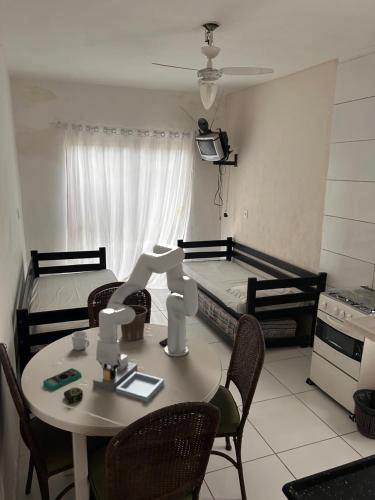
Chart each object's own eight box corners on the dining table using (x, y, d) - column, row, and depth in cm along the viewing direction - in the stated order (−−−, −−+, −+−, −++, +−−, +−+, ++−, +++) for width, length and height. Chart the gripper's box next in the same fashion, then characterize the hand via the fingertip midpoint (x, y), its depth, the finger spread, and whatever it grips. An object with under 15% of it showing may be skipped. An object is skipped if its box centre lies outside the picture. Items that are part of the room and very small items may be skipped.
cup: (94, 348, 195) (94, 334, 193) (82, 354, 188) (82, 340, 186) (80, 343, 200) (79, 329, 199) (68, 349, 194) (68, 335, 192)
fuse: (122, 369, 174) (122, 353, 172) (127, 370, 173) (127, 355, 171) (117, 374, 170) (116, 358, 168) (122, 375, 169) (122, 359, 167)
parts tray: (135, 376, 169) (134, 371, 169) (163, 384, 163) (163, 379, 163) (116, 393, 156) (115, 388, 155) (146, 402, 150) (146, 397, 149)
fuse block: (119, 366, 178) (119, 359, 177) (137, 370, 174) (137, 364, 173) (93, 387, 160) (93, 379, 159) (112, 393, 156) (112, 385, 155)
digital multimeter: (83, 378, 168) (82, 372, 167) (52, 393, 156) (51, 386, 155) (73, 372, 172) (73, 366, 172) (42, 386, 161) (42, 380, 160)
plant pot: (147, 330, 219) (147, 304, 215) (146, 342, 203) (146, 315, 200) (120, 330, 218) (119, 304, 214) (116, 343, 202) (116, 315, 199)
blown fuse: (109, 379, 165) (109, 363, 163) (115, 381, 164) (115, 365, 162) (103, 385, 161) (103, 368, 159) (109, 386, 160) (109, 369, 158)
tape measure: (63, 398, 152) (63, 390, 151) (79, 392, 156) (79, 384, 155) (68, 406, 147) (68, 398, 146) (85, 401, 150) (84, 392, 150)
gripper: (87, 337, 158) (89, 376, 161) (119, 344, 151) (120, 385, 155) (98, 330, 164) (99, 368, 168) (129, 337, 158) (130, 376, 162)
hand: (109, 376), depth 162 cm, fingers closed on blown fuse, 3 cm apart
